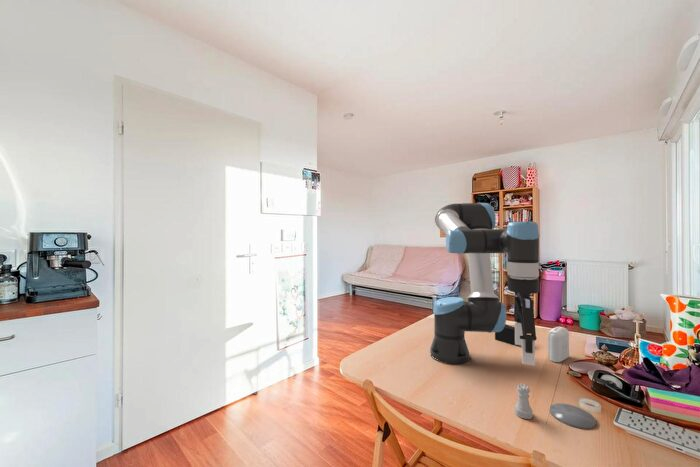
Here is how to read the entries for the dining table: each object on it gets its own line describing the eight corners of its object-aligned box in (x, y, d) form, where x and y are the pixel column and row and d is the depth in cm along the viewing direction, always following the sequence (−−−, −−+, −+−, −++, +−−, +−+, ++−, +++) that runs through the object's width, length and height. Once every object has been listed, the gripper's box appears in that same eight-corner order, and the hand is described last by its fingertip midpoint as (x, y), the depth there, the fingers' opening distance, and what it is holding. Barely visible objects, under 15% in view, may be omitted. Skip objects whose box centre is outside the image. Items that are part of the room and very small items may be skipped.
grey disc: (554, 423, 77) (554, 420, 77) (546, 402, 86) (546, 400, 86) (602, 432, 73) (602, 430, 73) (588, 410, 82) (588, 408, 82)
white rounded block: (558, 353, 119) (558, 323, 119) (570, 357, 116) (570, 326, 116) (546, 360, 114) (546, 328, 114) (559, 364, 110) (559, 331, 110)
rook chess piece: (525, 421, 78) (525, 392, 78) (510, 412, 82) (510, 384, 82) (536, 417, 80) (536, 388, 79) (521, 408, 84) (521, 380, 84)
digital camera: (524, 343, 130) (524, 328, 130) (518, 346, 127) (518, 330, 127) (500, 337, 139) (500, 322, 139) (495, 339, 135) (494, 324, 135)
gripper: (550, 286, 68) (551, 377, 68) (530, 271, 91) (531, 339, 91) (513, 284, 70) (514, 371, 71) (503, 270, 93) (504, 336, 94)
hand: (524, 353), depth 81 cm, fingers open, 13 cm apart
